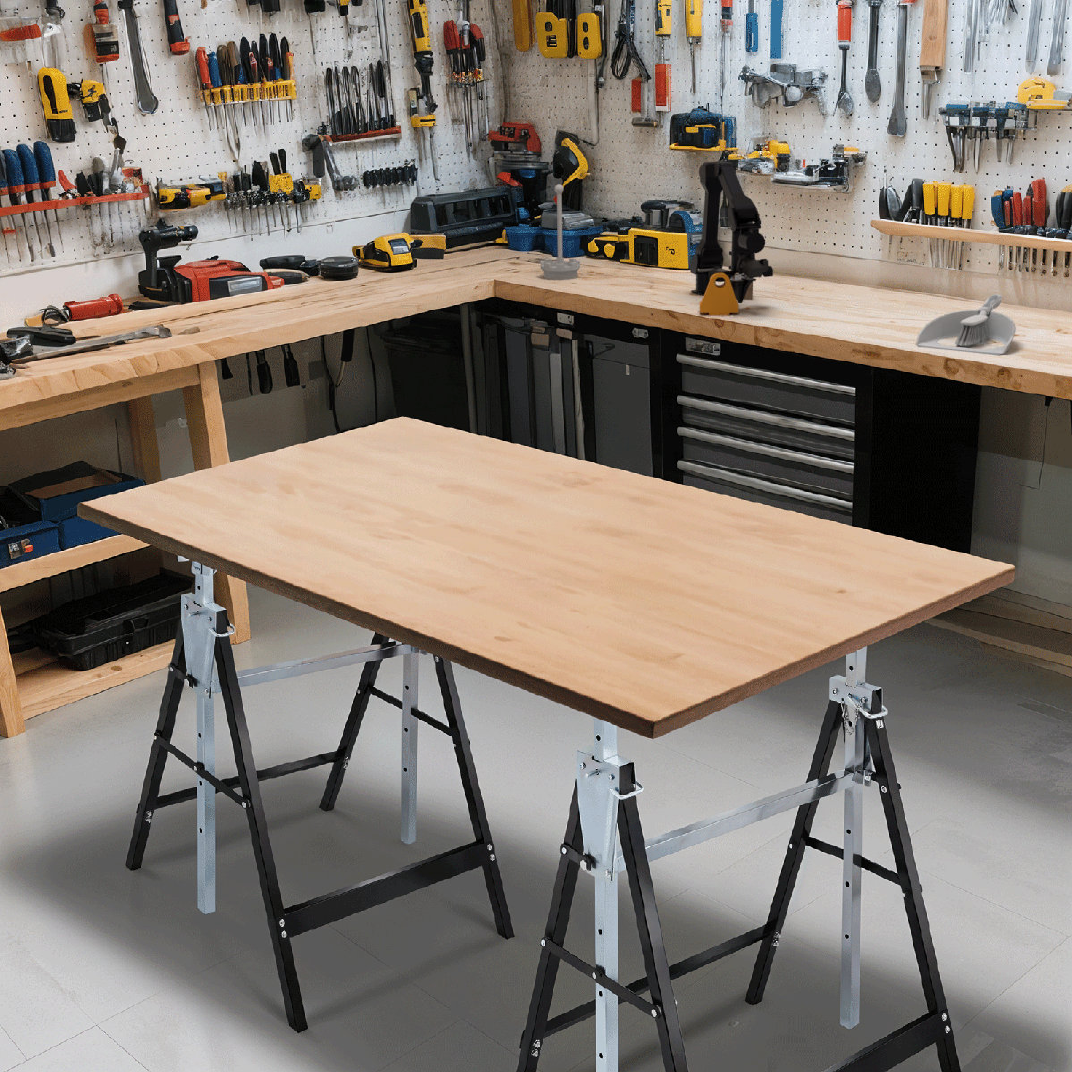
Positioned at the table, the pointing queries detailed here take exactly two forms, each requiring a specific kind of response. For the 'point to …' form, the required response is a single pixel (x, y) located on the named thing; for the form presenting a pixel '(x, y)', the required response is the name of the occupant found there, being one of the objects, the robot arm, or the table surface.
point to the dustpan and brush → (970, 329)
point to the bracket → (719, 297)
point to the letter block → (749, 293)
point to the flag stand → (560, 250)
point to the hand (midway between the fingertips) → (740, 303)
